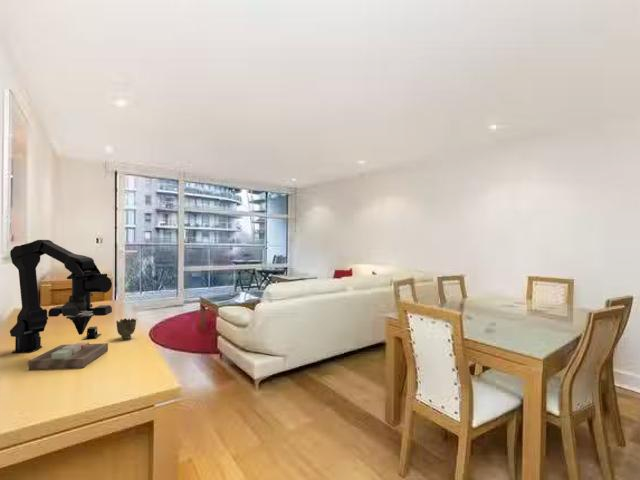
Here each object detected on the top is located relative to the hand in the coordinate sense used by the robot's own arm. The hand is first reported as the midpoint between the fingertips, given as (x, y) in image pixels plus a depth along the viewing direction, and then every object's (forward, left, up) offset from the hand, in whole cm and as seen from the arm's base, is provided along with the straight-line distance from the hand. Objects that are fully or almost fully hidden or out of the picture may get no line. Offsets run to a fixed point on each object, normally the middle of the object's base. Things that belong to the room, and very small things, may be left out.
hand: (80, 334), depth 123 cm
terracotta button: (0, 0, -7) cm, 7 cm away
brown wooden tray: (0, -5, -7) cm, 9 cm away
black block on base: (-8, +24, -8) cm, 27 cm away
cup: (+8, +20, -8) cm, 22 cm away
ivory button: (0, -6, -6) cm, 8 cm away
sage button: (0, -11, -6) cm, 12 cm away
